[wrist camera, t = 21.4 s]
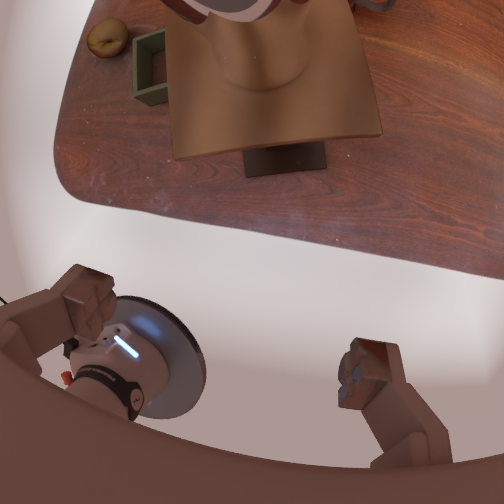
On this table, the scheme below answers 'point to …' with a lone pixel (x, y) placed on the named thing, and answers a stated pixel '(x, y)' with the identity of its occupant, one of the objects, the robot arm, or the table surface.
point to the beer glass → (252, 37)
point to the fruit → (107, 38)
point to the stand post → (284, 159)
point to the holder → (148, 68)
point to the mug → (372, 5)
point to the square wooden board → (270, 91)
